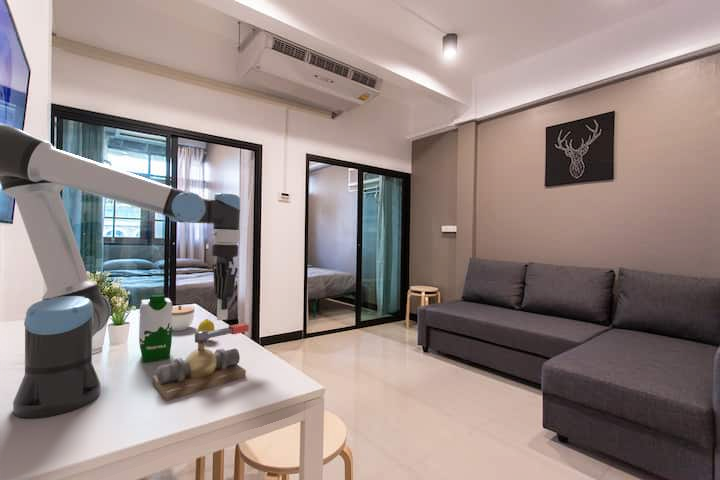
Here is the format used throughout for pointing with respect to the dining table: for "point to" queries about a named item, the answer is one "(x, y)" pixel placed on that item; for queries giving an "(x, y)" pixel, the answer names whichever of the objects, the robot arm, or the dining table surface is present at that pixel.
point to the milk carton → (155, 328)
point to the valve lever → (220, 332)
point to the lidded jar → (182, 317)
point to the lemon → (206, 325)
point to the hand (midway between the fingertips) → (222, 319)
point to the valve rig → (198, 372)
